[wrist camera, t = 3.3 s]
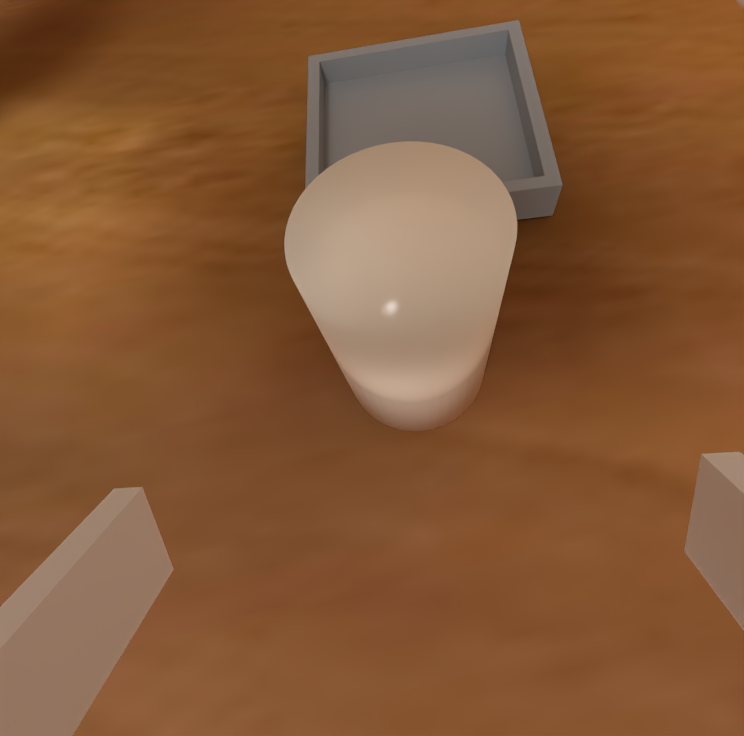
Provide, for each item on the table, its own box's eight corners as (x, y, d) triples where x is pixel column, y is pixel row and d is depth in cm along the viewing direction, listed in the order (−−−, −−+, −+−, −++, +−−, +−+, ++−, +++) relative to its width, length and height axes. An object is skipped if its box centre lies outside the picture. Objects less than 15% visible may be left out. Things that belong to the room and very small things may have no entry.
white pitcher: (350, 436, 29) (279, 342, 16) (347, 284, 33) (289, 117, 21) (492, 425, 28) (537, 317, 15) (470, 271, 32) (489, 86, 20)
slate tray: (314, 244, 35) (304, 218, 32) (316, 88, 42) (308, 56, 39) (552, 215, 33) (562, 185, 30) (513, 56, 40) (518, 19, 37)
